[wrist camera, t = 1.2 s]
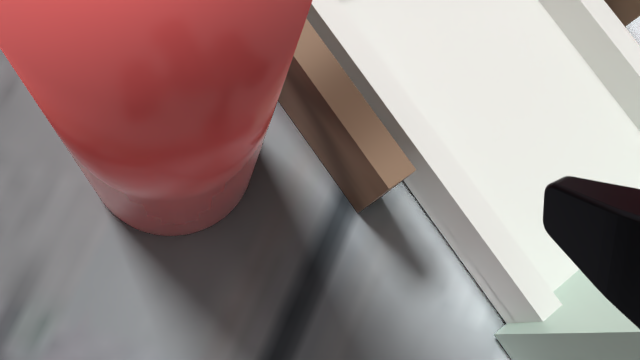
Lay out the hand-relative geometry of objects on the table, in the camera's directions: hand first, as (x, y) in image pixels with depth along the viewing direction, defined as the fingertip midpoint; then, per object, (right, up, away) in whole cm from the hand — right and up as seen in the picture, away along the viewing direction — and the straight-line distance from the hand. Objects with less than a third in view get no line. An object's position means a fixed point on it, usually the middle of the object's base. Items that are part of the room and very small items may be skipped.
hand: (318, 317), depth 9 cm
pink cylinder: (-6, +3, +13) cm, 15 cm away
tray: (+7, +6, +17) cm, 19 cm away
